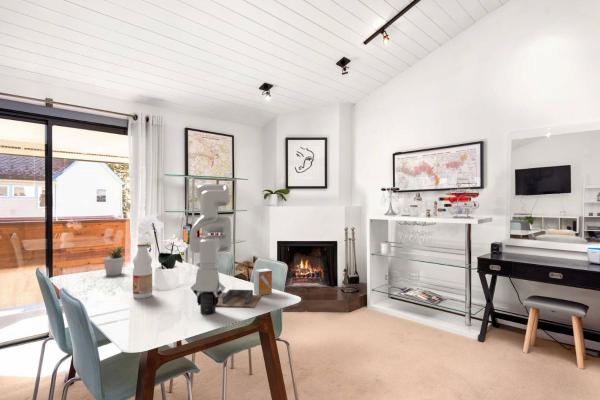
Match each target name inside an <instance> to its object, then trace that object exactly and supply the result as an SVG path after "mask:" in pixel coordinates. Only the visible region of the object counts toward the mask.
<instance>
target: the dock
mask: <svg viewBox="0 0 600 400" xmlns="http://www.w3.org/2000/svg"><path fill="white" fill-rule="evenodd" d="M261 297H262V295H256V294H254V289H228V290H227V291H226V292H225V294H223V295H222V296H221V297H220V298H219V302H218V303H217V305H216V308H247V309H248V308H249V309H251V308H252V309H254V308H256V306H257V304H258V303H259V301H260V300H261Z"/></svg>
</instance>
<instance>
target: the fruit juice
mask: <svg viewBox="0 0 600 400" xmlns="http://www.w3.org/2000/svg"><path fill="white" fill-rule="evenodd" d="M148 246H149V245H148V243H138V244H137V251H136V254H135V256H134V258H133V261H132V264H133V268H132V298H134V299H146V298H150V297H151V296H152V295H153V267H152V262H153V259H152V258H153V257H152V256H151V255H150V254H149V253H150V252H148V251H149V250H148Z"/></svg>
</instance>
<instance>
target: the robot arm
mask: <svg viewBox="0 0 600 400" xmlns="http://www.w3.org/2000/svg"><path fill="white" fill-rule="evenodd" d="M195 191H196V196H197V199H198V202H199V207H200V209H199V218H198V219H197V220H196V221H195V222H194V223H193V224H192V227H191V229H190V232H189V250H190V252H192V253H194V254H196V253H197V254H199V257H198V259H199V262H198V263H196V265H195V266H196V267H198V269H197V270H196V274H195V276H196V277H195V283H194V284H193V285H192V286H190V289H191V291H192V292H193V293H194V295H195V296H196V302H197V305H198V306H200V294H201V293H202V292H213V293H214V295H215V297H214V306H216V305H217V303H218V302H219V299H220V298H219V296H220V295H221V294H222V293H223V292H224V290H225V289H226V287H225V286H224V285H223V284H222V283H221V282H220V274H219V260H218V259H219V258H217V253H228V252H230V251H231V249H232V222H231V221H232V220H231V218H230V217H229V216H228V215H218V207H227V206H228V205H229V204H230V198H231V197H230V188H229V186H228V185H227V184H222V183H221V184H219V183H218V184H215V183H214V184H213V183H212V184H211V183H205V184H204V183H203V184H199V185H197V187H196V190H195ZM200 229H202V232H204V233H206V234H209V235H204V236H197V232H198V231H200ZM219 233H220V234H221V235H220V234H219ZM211 234H214V235H211ZM216 234H217V235H216ZM218 234H219V235H218Z"/></svg>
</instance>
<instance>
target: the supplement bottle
mask: <svg viewBox="0 0 600 400" xmlns="http://www.w3.org/2000/svg"><path fill="white" fill-rule="evenodd" d="M214 297H215V295H214V293H213V292H202V293H201V294H200V305H199V310H200V314H201V315H204V316H207V315H211V314H212V315H213V314H214V313H216V308H217V307H216V306H214Z"/></svg>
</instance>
